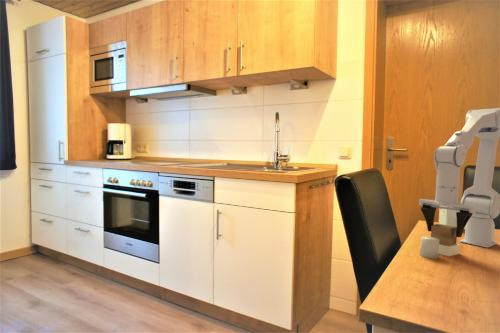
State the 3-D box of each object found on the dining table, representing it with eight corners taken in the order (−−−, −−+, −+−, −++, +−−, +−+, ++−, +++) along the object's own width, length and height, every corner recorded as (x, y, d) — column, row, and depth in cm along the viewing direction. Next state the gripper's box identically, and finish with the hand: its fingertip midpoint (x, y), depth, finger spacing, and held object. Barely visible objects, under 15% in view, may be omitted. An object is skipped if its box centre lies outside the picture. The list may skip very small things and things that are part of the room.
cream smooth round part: (424, 252, 94) (425, 235, 94) (441, 257, 90) (442, 239, 90) (416, 255, 91) (418, 237, 91) (434, 259, 88) (435, 241, 87)
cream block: (437, 249, 99) (438, 239, 99) (459, 254, 94) (459, 244, 94) (427, 251, 96) (427, 241, 96) (448, 257, 91) (448, 246, 91)
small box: (461, 231, 126) (463, 204, 125) (445, 229, 127) (447, 203, 127) (453, 226, 134) (454, 201, 133) (438, 225, 135) (439, 200, 134)
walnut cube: (437, 240, 99) (438, 223, 98) (456, 244, 95) (457, 226, 95) (430, 242, 96) (431, 225, 95) (449, 246, 92) (450, 228, 91)
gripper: (415, 185, 98) (412, 229, 98) (471, 190, 86) (467, 241, 87) (426, 184, 102) (423, 227, 103) (480, 189, 91) (476, 238, 91)
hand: (444, 233), depth 95 cm, fingers open, 7 cm apart
